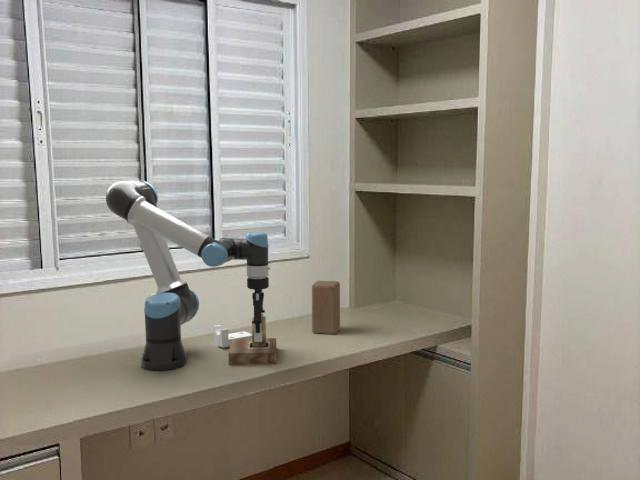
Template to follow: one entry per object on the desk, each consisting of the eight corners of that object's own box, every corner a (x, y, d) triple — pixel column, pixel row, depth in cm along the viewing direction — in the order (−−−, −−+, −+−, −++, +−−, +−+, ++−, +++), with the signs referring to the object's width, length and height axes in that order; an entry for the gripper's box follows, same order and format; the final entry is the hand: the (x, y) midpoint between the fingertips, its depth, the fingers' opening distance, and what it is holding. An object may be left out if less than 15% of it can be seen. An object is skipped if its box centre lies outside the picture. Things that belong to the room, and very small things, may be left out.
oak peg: (251, 358, 218) (251, 319, 216) (252, 354, 223) (251, 315, 221) (266, 358, 218) (265, 319, 217) (266, 354, 223) (266, 315, 222)
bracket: (222, 350, 229) (221, 330, 229) (214, 345, 235) (213, 326, 234) (253, 344, 237) (253, 324, 236) (244, 340, 243) (244, 321, 242)
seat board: (228, 364, 211) (228, 353, 211) (232, 349, 229) (232, 338, 229) (275, 363, 212) (275, 352, 212) (276, 348, 230) (276, 337, 230)
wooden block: (336, 334, 248) (335, 285, 246) (311, 333, 250) (311, 284, 248) (340, 328, 258) (340, 280, 256) (316, 327, 260) (316, 280, 258)
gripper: (267, 283, 205) (268, 346, 208) (269, 270, 230) (270, 327, 232) (244, 283, 205) (246, 346, 207) (248, 271, 230) (249, 327, 232)
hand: (258, 336), depth 220 cm, fingers open, 13 cm apart
